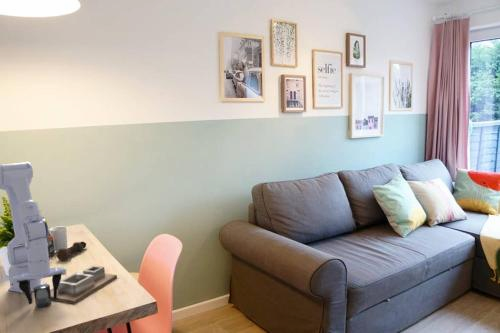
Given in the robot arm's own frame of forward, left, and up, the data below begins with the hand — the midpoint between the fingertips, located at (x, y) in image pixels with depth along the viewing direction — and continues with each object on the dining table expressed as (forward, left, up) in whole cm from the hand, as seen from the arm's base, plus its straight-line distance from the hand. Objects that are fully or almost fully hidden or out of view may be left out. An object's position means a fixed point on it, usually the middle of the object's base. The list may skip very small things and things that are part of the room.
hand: (43, 299), depth 119 cm
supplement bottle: (-36, +33, -2) cm, 49 cm away
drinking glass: (-37, +41, -2) cm, 55 cm away
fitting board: (+2, +14, -2) cm, 14 cm away
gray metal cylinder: (0, 0, -2) cm, 2 cm away
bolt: (-26, +38, -2) cm, 46 cm away
